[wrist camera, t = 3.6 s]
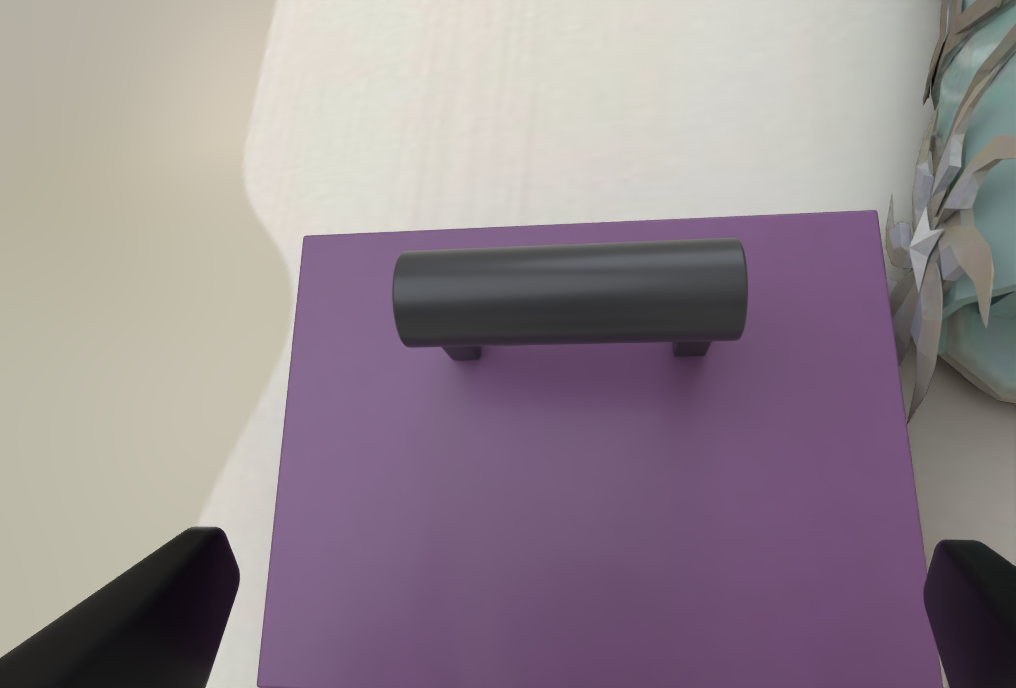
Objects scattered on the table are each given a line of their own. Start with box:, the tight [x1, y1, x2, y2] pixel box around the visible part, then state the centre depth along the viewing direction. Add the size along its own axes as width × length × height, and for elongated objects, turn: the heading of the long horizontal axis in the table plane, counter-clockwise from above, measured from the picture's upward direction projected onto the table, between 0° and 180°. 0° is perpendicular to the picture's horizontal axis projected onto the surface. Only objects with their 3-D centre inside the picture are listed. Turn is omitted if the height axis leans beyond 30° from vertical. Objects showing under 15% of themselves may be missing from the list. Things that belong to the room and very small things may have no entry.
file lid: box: [257, 210, 943, 688], centre depth 14 cm, size 10×14×5 cm
